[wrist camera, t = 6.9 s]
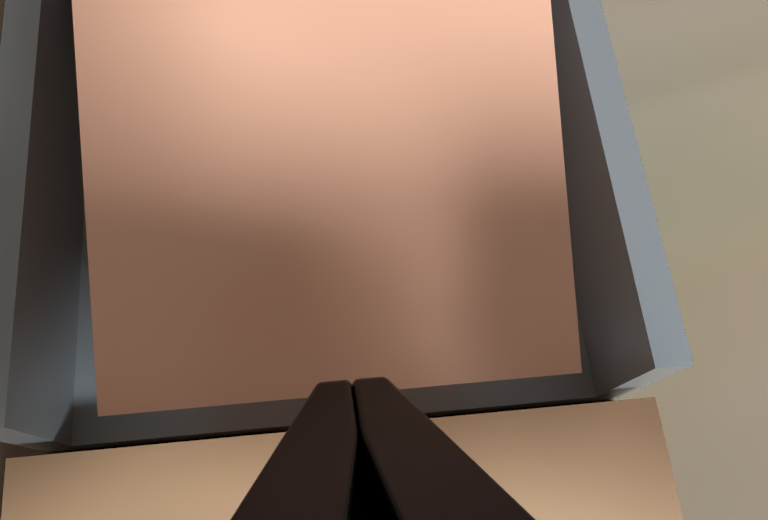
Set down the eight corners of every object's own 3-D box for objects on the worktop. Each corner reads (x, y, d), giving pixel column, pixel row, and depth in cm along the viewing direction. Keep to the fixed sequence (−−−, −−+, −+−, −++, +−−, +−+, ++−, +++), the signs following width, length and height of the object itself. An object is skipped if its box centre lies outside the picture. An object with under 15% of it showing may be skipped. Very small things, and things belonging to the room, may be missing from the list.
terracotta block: (581, 372, 10) (527, -281, 11) (97, 416, 10) (54, -280, 10) (477, 337, 17) (446, -57, 18) (191, 362, 17) (163, -48, 17)
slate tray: (618, 398, 18) (693, 364, 14) (45, 451, 16) (-43, 431, 13) (535, 13, 22) (576, -93, 18) (73, 32, 20) (13, -77, 17)
